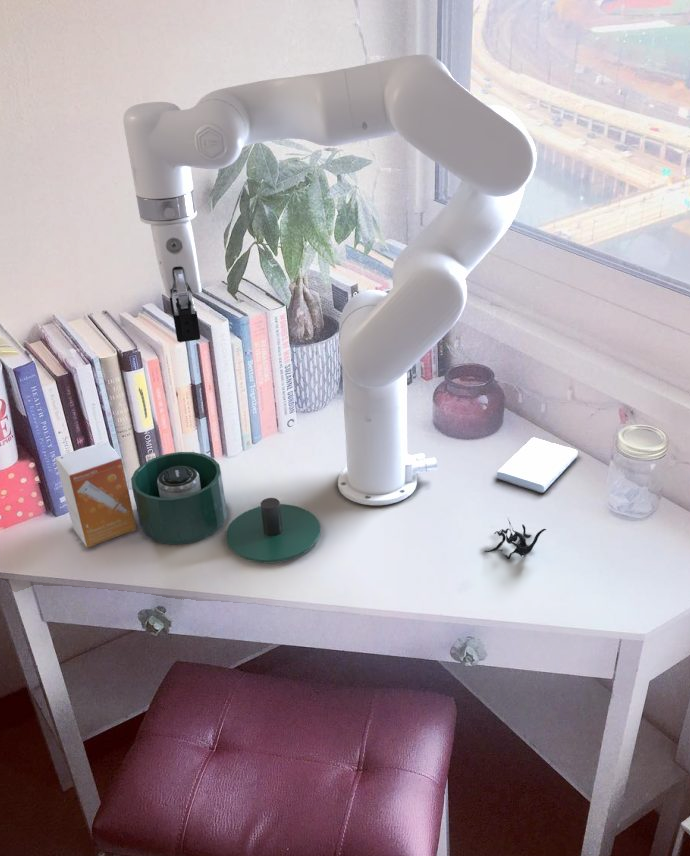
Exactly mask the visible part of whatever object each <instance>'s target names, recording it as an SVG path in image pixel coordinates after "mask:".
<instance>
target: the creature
mask: <svg viewBox="0 0 690 856" xmlns="http://www.w3.org/2000/svg"><path fill="white" fill-rule="evenodd" d="M507 520H508V523H509V525H510V527H509V528H506V529H503V528H502V529H500V530H496V531H495V532H494V533H493V535H495V534H497V535H498V537H501V536H502V540H501V541H500V542H499V543H498V544H497V545H496V547H493V548H492V549H489V550H487V549H485V550H484V552H483V553H491V552H496V551H499V552H503V551H504V549H500V548H501V547H502V546H503V544H504V543H505V542H506V543H507V544H509V545H512V546H513V545H514V546H515V548H514V550H513V551H512V552H510V553H509V555H506V554H504V553H501V555H502V556H505V557H506V558H507V560H510V559H511V556H512V555H514V554H517V555H519V556H520V557H523V556H526V555H528V554H530V553H531V551H533V548H534V546H535V545H536V543H537V542H538V539H539V538H540V535H541V534H542V533H543V532H544V531H547V529H546V528H543V529H541V530H539V531H538V532H537V533H536V535H535V536H534V539H533V541H532V542H531V543H530V544H529V545H528V544H527V539H530V538H531V537H532V534H527V533H526V526H525V524H521V526H522V530H523V533H521V532H518V531H516V530H514V528H513V525H512V524H511V521H510V519H509V518H507ZM511 529H512V530H511ZM508 531H512V532H513V533H514V534H513V533H512V532H510V535H509V537H508ZM518 538H519V540H518ZM517 540H518V542H517ZM516 542H517V543H516Z"/></svg>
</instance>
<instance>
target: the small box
mask: <svg viewBox="0 0 690 856" xmlns="http://www.w3.org/2000/svg"><path fill="white" fill-rule="evenodd" d="M54 460H55V464H56V469H57V472H58V476H59V479H60V483H61V487H62V492H63V495H64V499H65V503H66V508H67V511H68V514H69V517H70V521H71V525H72V529H73V531H74V532H75V533H76V534H77V536H78V537H79V538H80V540H81V541H82V543H83V544H84V545H85V547H86V548H87V549H88V548H91V547H93V546H95V545H98V544H101V543H103V542H106V541H108V540H111V539H114V538H116V537H119V536H122V535H124V534H127V533H131V532H134V531H136V530H137V524H136V520H135V515H134V510H133V506H132V500H131V495H130V491H129V488H128V482H127V481H128V480H127V476H126V472H125V468H124V467H125V466H124V462H123V458H122V457H121V455H120V454H119V453H118V452H117V451H116V450H115V448H113V446H112V445H111V444H110V442H108V441H107V440H105V441H102V442H98V443H95V444H92V445H89V446H85V447H81V448H78V449H75V450H74V451H71V452H67V453H64V454H62V455H58V456H55V457H54Z"/></svg>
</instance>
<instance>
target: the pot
mask: <svg viewBox="0 0 690 856" xmlns="http://www.w3.org/2000/svg"><path fill="white" fill-rule="evenodd" d="M174 466H188V467H191V468H193V469H195V470H196V471H197V472H198V474H199V478H200V484H201V490H200V491H198V492H195V493H192V494H189V495H186V496H181V497H175V498H160V494H159V489H158V484H157V479H158V477H159V475H160V474H161V473H162V472H163V471H164V470H166V469H168V468H171V467H174ZM130 480H131V481H130V482H131V489H132V494H133V498H134V503H135V508H136V512H137V517H138V522H139V526H140V529H141V531H142V533H143V534H144V535H145V536H146V537H147V538H149V539H150V540H152V541H154V542H157V543H161V544H167V545H184V544H190V543H195V542H198V541H201V540H204V539H206V538H208V537H210V536H211V535H213V534H215V533H216V532H218V530H220V529H221V528H222V527H223V525H224V524H225V522H226V519H227V516H228V511H227V506H226V505H227V504H226V497H225V490H224V484H223V483H224V482H223V477H222V471H221V466H220V464H219V463H218V461H216V460H215V458H214V457H211V456H209V455H207V454H205V453H200V452H195V451H177V452H171V453H165V454H162V455H159V456H156V457H153V458H151V459H150V460H147V461H145V462H144V463H142V464H141V465H140V466H139V467H138V468H137V469H135V470H134V472H133V475H132V476H131V478H130Z"/></svg>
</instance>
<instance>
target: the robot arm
mask: <svg viewBox="0 0 690 856" xmlns="http://www.w3.org/2000/svg"><path fill="white" fill-rule="evenodd" d="M122 120H123V121H122V122H123V126H124V127H123V128H124V134H125V139H126V147H127V151H128V157H129V162H130V163H129V164H130V169H131V173H132V179H133V180H132V181H133V184H134V185H133V186H134V190H135V197H136V203H137V209H138V214H139V220H140V221H141V222H142V223H144V224H147V225H150V229H151V235H152V240H153V245H154V250H155V256H156V261H157V265H158V269H159V273H160V276H161V280H162V284H163V287H164V290H165V295H166V296H167V297H168V298H169V304H170V310H171V314H172V317H173V323H174V330H175V335H176V336H175V337H176V341H177V342H178V343H184V342H193V341H198V340H200V339H201V332H200V326H199V319H198V311H197V310H196V309H195V304H194V297H193V294H197V295H200V294H201V293H202V292H203V290H202V289H203V288H202V284H201V276H200V271H199V264H198V263H199V262H198V257H197V249H196V244H195V238H194V232H193V227H192V222H191V220H193V219H195V218H196V217H197V215H198V212H197V211H198V210H197V202H196V196H195V189H194V183H193V176H192V175H193V174H192V168H197V169H203V170H221V169H224V168H227V167H229V166H231V165H233V164H234V163H235V162H236V161H237V160H238V158H239V157H240V155H241V153H242V150H243V148H244V146H251V145H254V144H259V143H266V142H271V141H272V142H273V141H278V140H289V139H290V140H291V139H292V140H302V141H307V142H310V143H313V144H316V145H318V146H323V147H338V146H344V145H348V144H353V143H357V142H362V141H363V142H364V141H367V140H373V139H378V138H384V137H388V136H389V137H391V136H395V135H399V136H401V138H403V140H405V141H406V142H407V143H409V144H410V146H412V147H414V148H415V149H416V150H418V151H419V152H420V153H422V154H423V155H424V156H426V157H427V158H429V159H430V160H431V161H433V162H434V163H436V164H437V165H439V166H440V167H442V168H443V169H445V170H446V171H448V172H449V173H451V174H452V175H454V176H455V177H456V178H458V179H459V180H460V182H459V185H458V187H457V188H456V190H455V191H454V194H452V196H451V198H449V200H448V201H447V202H446V204H445V205H444V206H443V207H442V208H441V210H440V211H439V212H438V214H436V215H435V216H434V217H433V218H432V220H431V221H430V222H429V223H428V224H427V225H425V227H424V228H423V229H422V230H421V231H420V232H419V233H418V234H417V236H415V237H414V238H413V240H411V242H410V243H408V244H407V245H406V247H405V248H404V249H402V250H401V252H400V253H399V254H398V255H397V257H396V259H395V260H394V263H393V267H392V272H391V277H392V288H391V289H390V290H389V291H388V292H385V291H383V290H379V289H366V290H363V291H360V292H358V293H356V294H355V295H353V296H352V297H351V298H350V299H349V300H348V301H347V302H346V304H345V305H344V307H343V309H342V310H341V314H340V316H339V325H338V327H339V328H338V330H339V331H338V334H339V335H338V341H339V346H338V347H339V348H338V349H339V350H338V351H339V359H340V364H341V375H342V395H343V396H342V397H343V398H342V400H343V401H342V402H343V417H344V418H343V419H344V421H343V422H344V435H345V436H344V437H345V440H344V441H345V457H346V466H345V467H344V468H342V470H341V471H340V473H339V474H338V477H337V486H338V487H337V488H338V490H339V492H340V493H341V495H343V496H344V497H345V498H346V499H348V500H350V501H351V502H354V503H356V504H361V505H365V506H389V505H392V504H396V503H398V502H402V501H404V500H405V499H407V498H408V497H410V496H411V495H412V494H413V493H414V491H415V490H416V488H417V485H418V475H419V473H422V472H431V471H437V470H438V462H437V459H436V458H435V457H432V458H431V457H430V458H426V457H425V453H424V452H420V453H414V454H410V453H408V421H407V420H408V418H407V417H408V414H407V413H408V410H407V409H408V407H407V406H408V405H407V404H408V403H407V398H408V380H407V378H408V377H407V374H408V372H410V370H411V369H412V368H413V367H414V366H415V365H417V363H419V361H420V360H421V359H422V358H423V357H424V356H426V354H427V353H429V352H430V350H431V349H433V347H435V346H436V345H437V344H438V343H439V342H440V341H441V340H442V339H443V338H444V337H445V336H446V335H447V334H448V332H449V331H450V330H451V329H452V328H453V327H454V326H455V325H456V323H457V322H458V320H459V319H460V317H461V316H462V313H463V312H464V310H465V306H466V304H467V303H466V302H467V297H468V288H467V283H466V279H467V277H468V276H469V274H470V273H471V272H472V271H473V270H474V269H475V267H476V266H477V265H478V264H479V263H480V262H481V261H482V260H483V259H484V258H485V256H486V255H487V254H488V253H490V251H491V250H492V249H493V248H494V247H495V245H496V244H497V243H498V242H499V241H500V240H501V239H502V237H503V236H504V235H505V234H506V232H507V231H508V229H509V228H510V226H511V225H512V222H513V220H514V219H515V217H516V215H517V213H518V210H519V208H520V205H521V201H522V198H523V195H524V191H525V186H526V184H527V183H528V182H529V181H530V180H531V178H532V176H533V174H534V171H535V169H536V163H537V151H536V146H535V143H534V141H533V139H532V137H531V136H530V134H529V132H528V131H527V130H526V127H525V126H524V125H523V123H522V122H521V120H520V119H519V118H518V116H516V114H514V112H513V111H511V110H510V109H508V108H506V107H503V106H500V105H488V104H486V103H485V102H483V101H482V100H481V99H479V98H478V97H477V96H476V95H474V94H473V93H472V92H470V91H469V90H468V89H466V88H465V87H464V86H463V85H461V84H460V83H459V82H458V81H457V80H456V79H455V78H454V77H453V76H452V74H451V73H450V71H449V69H448V68H447V67H446V65H445V64H444V63H443V62H442V61H441V60H440V59H438V58H437V57H435V56H432V55H430V54H429V55H428V54H413V55H406V56H400V57H395V58H390V59H386V60H380V61H375V62H371V63H366V64H361V65H357V66H352V67H346V68H340V69H336V70H335V69H334V70H330V71H324V72H319V73H310V74H308V73H307V74H302V75H298V76H297V75H296V76H289V77H279V78H270V79H264V80H258V81H252V82H248V83H244V84H238V85H233V86H228V87H224V88H220V89H215V90H213V91H210V92H208V93H207V94H205V95H203V96H202V97H201V98H200V99H199V100H198V101H197V103H195V105H194V106H192V107H190V108H187V109H181V108H180V107H179V106H178V105H176V104H175V103H172V102H167V101H151V102H144V103H143V102H142V103H138V104H134V105H132V106H130V107H128V108H127V109H126V110H125V111H124V114H123V118H122Z"/></svg>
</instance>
